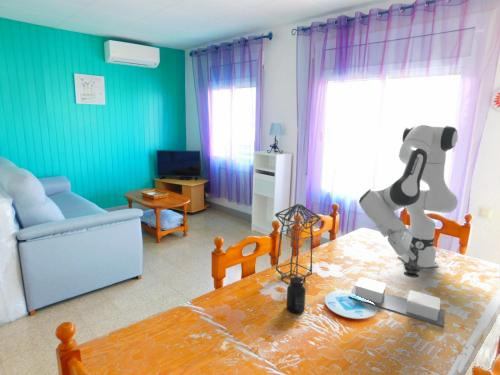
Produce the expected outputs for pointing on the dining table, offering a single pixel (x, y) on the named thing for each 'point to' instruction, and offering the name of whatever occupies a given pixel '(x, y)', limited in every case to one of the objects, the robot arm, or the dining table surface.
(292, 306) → the supplement bottle
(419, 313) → the grey mounting plate
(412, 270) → the dark grey upright figurine
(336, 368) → the dining table surface
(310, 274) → the geometric lantern
